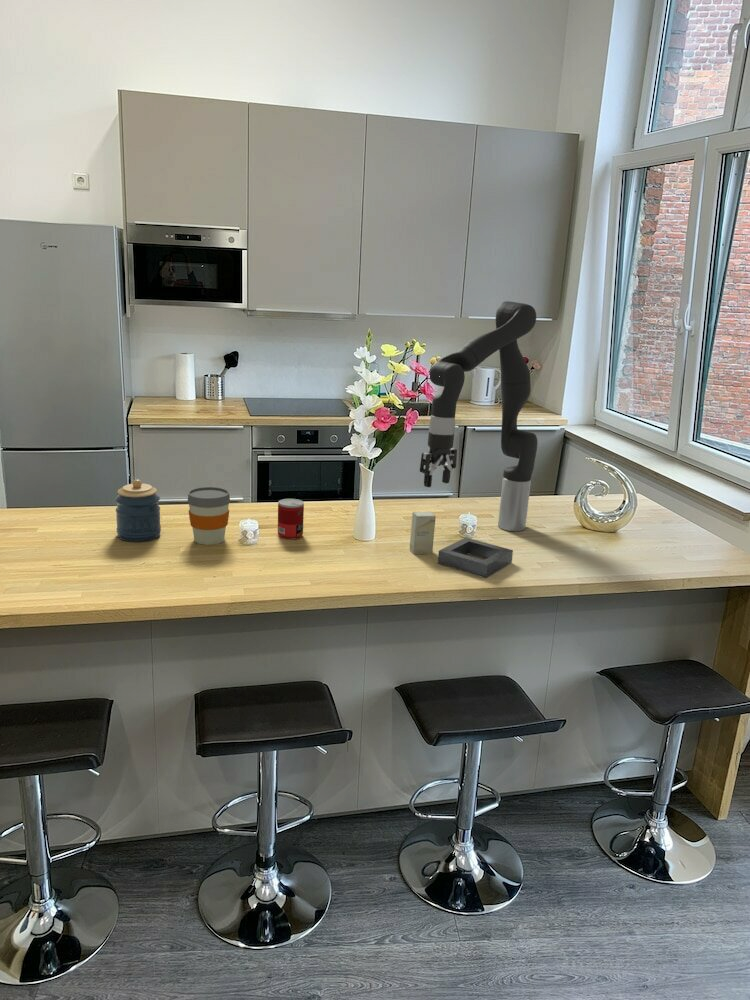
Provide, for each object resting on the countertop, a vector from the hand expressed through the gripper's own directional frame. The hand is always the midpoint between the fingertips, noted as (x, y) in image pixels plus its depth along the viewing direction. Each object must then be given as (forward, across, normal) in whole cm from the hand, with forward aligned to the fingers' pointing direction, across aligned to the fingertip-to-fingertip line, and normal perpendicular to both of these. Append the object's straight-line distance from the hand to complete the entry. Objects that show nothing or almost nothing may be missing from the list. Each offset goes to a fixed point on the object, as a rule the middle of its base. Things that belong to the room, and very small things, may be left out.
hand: (436, 484), depth 232 cm
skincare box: (+21, +3, -2) cm, 21 cm away
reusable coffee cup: (+22, +46, -49) cm, 71 cm away
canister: (+23, +60, -66) cm, 92 cm away
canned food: (+22, +24, -37) cm, 49 cm away
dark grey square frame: (+21, -3, +15) cm, 26 cm away
